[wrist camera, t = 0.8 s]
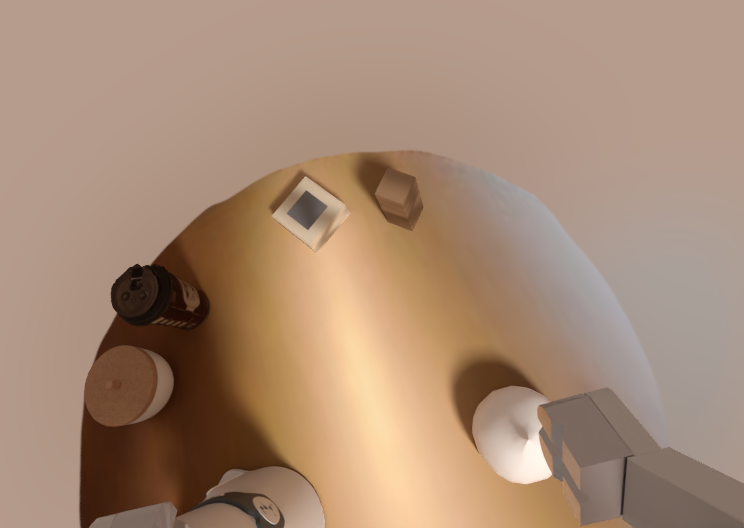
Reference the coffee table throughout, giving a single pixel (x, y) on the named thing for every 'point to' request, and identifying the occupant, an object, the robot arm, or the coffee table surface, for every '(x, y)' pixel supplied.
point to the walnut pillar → (399, 198)
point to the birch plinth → (311, 214)
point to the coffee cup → (158, 299)
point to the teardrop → (511, 434)
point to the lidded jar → (127, 386)
